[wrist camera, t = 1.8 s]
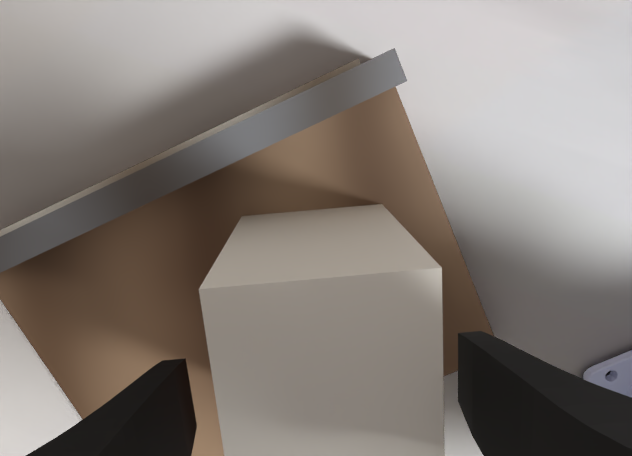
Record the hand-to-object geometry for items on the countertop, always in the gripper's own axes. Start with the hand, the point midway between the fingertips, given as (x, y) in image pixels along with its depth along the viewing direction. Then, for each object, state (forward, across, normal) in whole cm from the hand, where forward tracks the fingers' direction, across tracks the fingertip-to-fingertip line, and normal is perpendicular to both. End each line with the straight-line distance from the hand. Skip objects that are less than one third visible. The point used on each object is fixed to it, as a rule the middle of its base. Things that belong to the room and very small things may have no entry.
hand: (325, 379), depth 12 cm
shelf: (+6, +3, 0) cm, 7 cm away
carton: (+5, 0, 0) cm, 5 cm away
